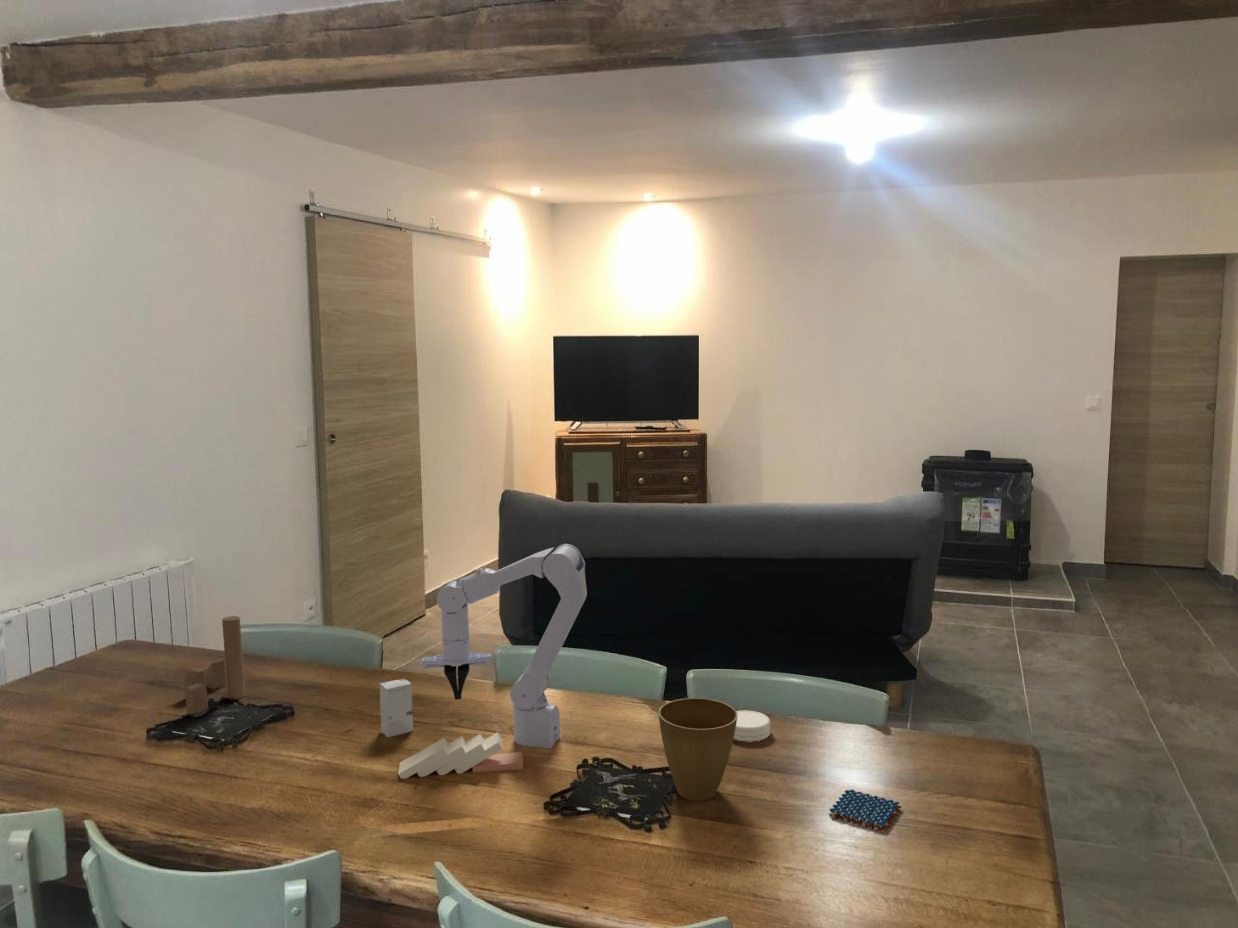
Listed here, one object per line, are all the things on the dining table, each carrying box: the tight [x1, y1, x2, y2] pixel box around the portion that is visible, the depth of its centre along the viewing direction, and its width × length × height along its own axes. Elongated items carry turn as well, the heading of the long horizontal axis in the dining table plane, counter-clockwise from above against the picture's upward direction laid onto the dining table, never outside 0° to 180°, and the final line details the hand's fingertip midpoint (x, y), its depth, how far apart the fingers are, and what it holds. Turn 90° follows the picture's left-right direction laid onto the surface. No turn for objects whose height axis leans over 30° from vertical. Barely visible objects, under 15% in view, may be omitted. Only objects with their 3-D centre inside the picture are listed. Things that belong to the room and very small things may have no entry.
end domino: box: [472, 751, 524, 774], centre depth 188 cm, size 2×5×10 cm
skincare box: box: [379, 678, 414, 738], centre depth 204 cm, size 6×4×12 cm
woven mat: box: [828, 789, 902, 833], centre depth 169 cm, size 10×11×2 cm
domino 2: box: [416, 735, 467, 778], centre depth 186 cm, size 2×5×10 cm
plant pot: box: [658, 697, 738, 802], centre depth 177 cm, size 15×15×16 cm
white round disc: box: [734, 709, 771, 743], centre depth 204 cm, size 10×10×4 cm
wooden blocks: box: [183, 615, 246, 714], centre depth 227 cm, size 17×20×20 cm
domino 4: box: [454, 731, 503, 775], centre depth 187 cm, size 2×5×10 cm
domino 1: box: [398, 737, 449, 780], centre depth 185 cm, size 2×5×10 cm
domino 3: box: [435, 733, 485, 776], centre depth 186 cm, size 2×5×10 cm
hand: (458, 697), depth 202 cm, fingers closed
